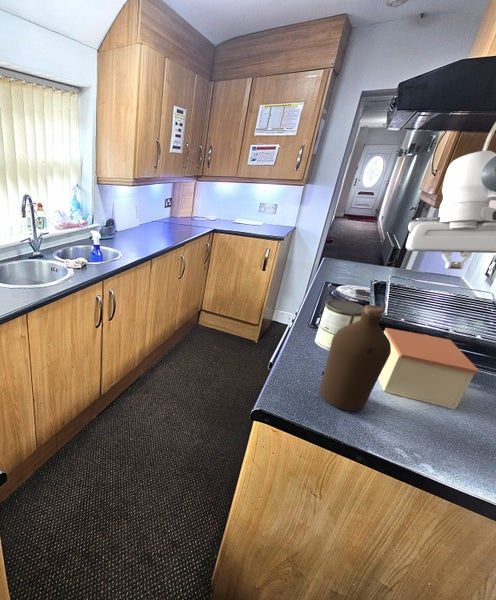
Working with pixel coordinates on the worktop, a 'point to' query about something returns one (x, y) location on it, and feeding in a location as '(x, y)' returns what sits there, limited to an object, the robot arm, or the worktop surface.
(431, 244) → the robot arm
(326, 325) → the coffee can
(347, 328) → the brown bottle
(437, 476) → the worktop surface
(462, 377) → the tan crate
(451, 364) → the lid
